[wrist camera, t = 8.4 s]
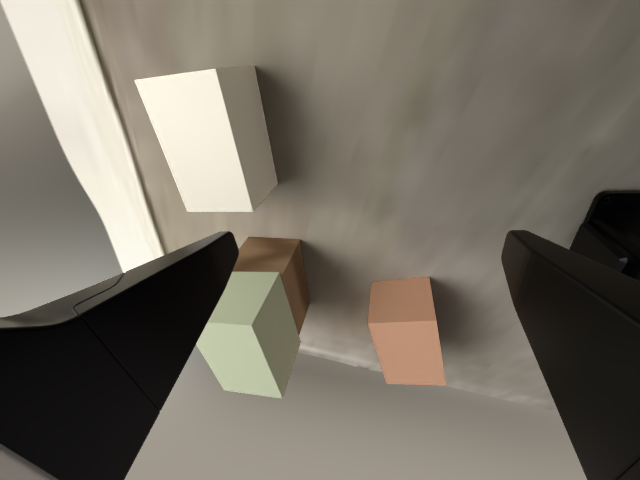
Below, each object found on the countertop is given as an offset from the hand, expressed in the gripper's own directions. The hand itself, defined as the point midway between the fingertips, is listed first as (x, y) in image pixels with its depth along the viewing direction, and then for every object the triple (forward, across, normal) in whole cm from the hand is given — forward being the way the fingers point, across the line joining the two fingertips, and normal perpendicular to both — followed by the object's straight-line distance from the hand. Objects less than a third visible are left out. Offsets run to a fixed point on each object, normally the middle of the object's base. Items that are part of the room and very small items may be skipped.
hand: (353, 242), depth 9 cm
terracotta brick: (+12, -2, +16) cm, 20 cm away
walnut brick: (+12, +9, +11) cm, 19 cm away
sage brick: (+7, +9, +11) cm, 16 cm away
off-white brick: (+12, +10, -2) cm, 16 cm away
